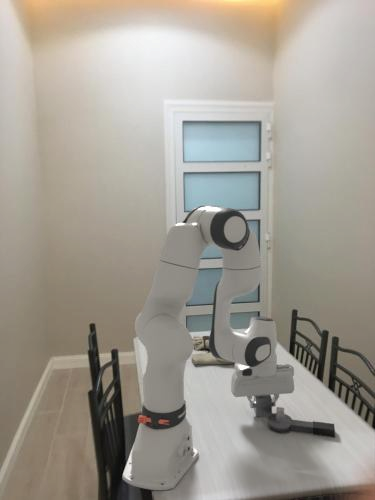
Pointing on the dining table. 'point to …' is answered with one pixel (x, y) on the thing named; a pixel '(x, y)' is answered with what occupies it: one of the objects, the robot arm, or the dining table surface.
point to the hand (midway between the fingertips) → (262, 406)
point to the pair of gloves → (205, 357)
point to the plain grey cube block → (263, 405)
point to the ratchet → (298, 425)
